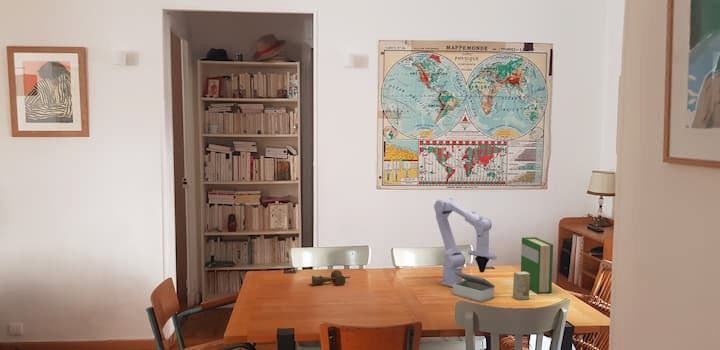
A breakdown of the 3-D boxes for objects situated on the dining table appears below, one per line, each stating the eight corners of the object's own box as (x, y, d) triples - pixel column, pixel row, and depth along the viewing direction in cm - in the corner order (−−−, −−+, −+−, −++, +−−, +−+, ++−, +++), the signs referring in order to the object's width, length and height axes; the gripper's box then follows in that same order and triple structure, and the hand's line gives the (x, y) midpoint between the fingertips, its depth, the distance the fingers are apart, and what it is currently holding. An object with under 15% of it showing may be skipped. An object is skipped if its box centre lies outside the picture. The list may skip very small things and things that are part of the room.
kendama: (310, 283, 277) (348, 279, 282) (314, 289, 268) (352, 285, 273) (310, 272, 276) (347, 268, 282) (313, 278, 267) (352, 274, 272)
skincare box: (517, 300, 249) (518, 274, 248) (512, 297, 253) (513, 271, 252) (529, 299, 251) (530, 273, 250) (524, 296, 255) (525, 271, 254)
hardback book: (551, 293, 260) (553, 244, 258) (537, 294, 258) (538, 245, 256) (534, 283, 277) (535, 237, 275) (520, 283, 276) (521, 237, 274)
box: (452, 294, 258) (453, 284, 257) (465, 290, 264) (465, 280, 264) (481, 302, 246) (481, 291, 246) (493, 297, 253) (493, 287, 252)
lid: (454, 273, 258) (454, 271, 258) (465, 280, 264) (465, 278, 264) (483, 280, 246) (484, 278, 246) (494, 287, 252) (494, 285, 252)
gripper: (500, 245, 255) (499, 273, 256) (474, 240, 266) (474, 267, 267) (492, 247, 250) (491, 276, 252) (466, 242, 261) (465, 270, 262)
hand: (481, 272), depth 259 cm, fingers closed
